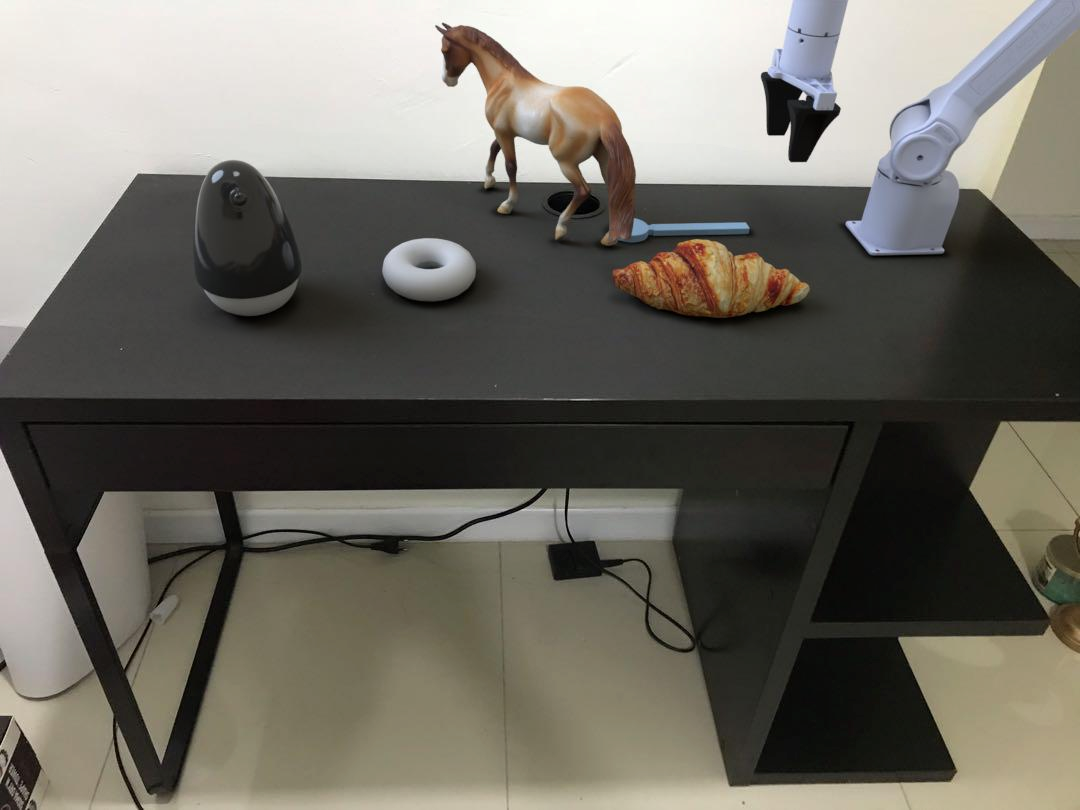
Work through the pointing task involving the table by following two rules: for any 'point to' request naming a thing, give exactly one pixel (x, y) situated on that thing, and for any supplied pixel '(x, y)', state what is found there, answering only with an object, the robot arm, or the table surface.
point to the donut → (429, 269)
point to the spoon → (684, 229)
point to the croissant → (709, 281)
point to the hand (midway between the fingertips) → (786, 147)
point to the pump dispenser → (243, 242)
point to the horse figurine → (546, 126)
